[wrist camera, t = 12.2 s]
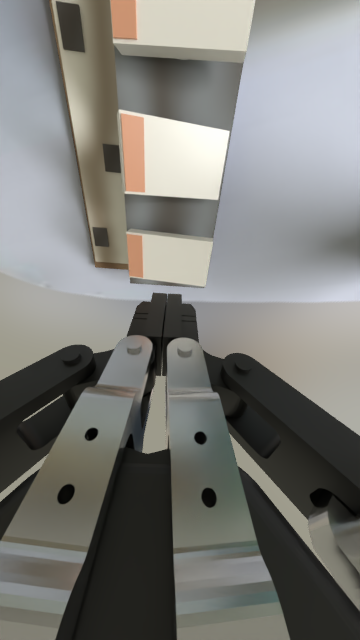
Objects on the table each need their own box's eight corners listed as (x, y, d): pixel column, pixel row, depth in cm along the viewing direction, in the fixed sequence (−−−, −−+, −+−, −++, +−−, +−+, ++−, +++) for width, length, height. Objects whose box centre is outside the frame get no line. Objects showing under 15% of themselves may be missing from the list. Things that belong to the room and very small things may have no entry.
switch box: (245, -27, 16) (271, -102, 12) (200, 272, 32) (204, 288, 27) (43, -62, 15) (-11, -159, 11) (97, 264, 31) (84, 279, 26)
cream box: (212, 236, 22) (213, 242, 20) (205, 278, 25) (205, 287, 23) (133, 227, 22) (125, 232, 20) (135, 269, 25) (128, 277, 23)
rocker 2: (216, 134, 18) (230, 130, 17) (207, 197, 21) (218, 200, 20) (115, 115, 16) (119, 108, 14) (121, 190, 19) (125, 193, 17)
